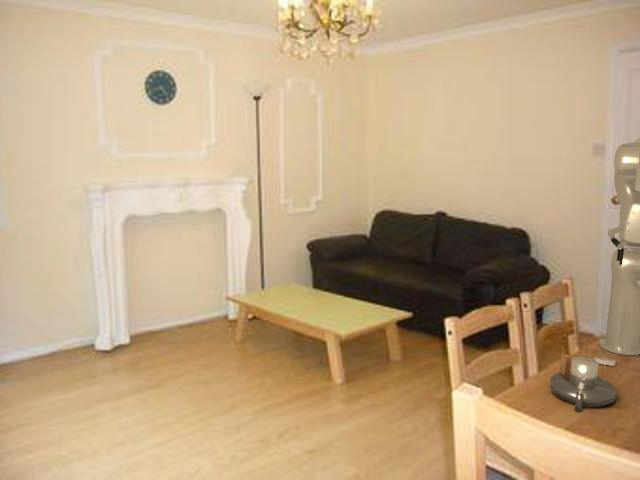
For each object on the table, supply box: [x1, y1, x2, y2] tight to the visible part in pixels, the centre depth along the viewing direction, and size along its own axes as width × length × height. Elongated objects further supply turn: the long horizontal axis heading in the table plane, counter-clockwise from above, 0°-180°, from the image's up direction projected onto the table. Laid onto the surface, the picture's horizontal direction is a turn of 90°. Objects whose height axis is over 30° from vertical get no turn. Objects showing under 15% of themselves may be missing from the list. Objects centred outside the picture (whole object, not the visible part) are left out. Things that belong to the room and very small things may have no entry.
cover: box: [570, 356, 599, 389], centre depth 146 cm, size 6×6×6 cm
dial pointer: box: [574, 390, 584, 413], centre depth 140 cm, size 3×2×4 cm, turn 152°
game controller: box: [593, 356, 617, 376], centre depth 166 cm, size 6×12×3 cm, turn 173°
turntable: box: [549, 353, 617, 406], centre depth 146 cm, size 15×15×7 cm
